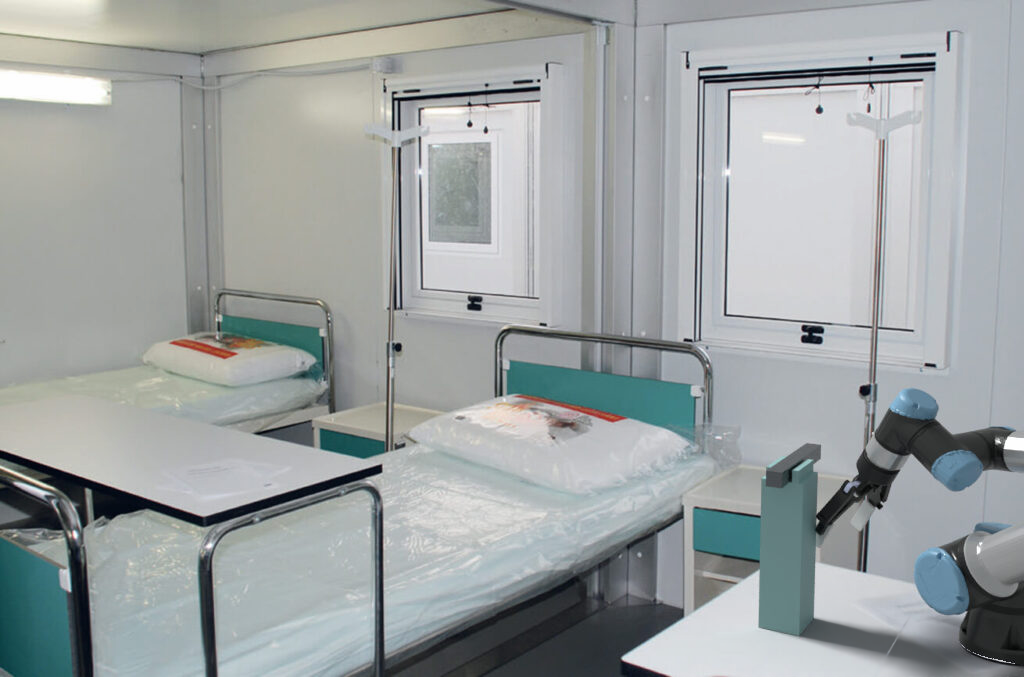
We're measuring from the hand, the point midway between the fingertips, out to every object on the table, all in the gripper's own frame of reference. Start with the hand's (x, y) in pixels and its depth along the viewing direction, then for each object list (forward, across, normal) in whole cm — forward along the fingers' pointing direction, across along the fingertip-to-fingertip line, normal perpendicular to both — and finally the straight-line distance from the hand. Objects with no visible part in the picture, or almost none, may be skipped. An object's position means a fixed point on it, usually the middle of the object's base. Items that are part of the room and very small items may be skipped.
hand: (835, 534), depth 202 cm
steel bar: (-12, +10, -10) cm, 18 cm away
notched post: (+13, +14, +7) cm, 21 cm away
